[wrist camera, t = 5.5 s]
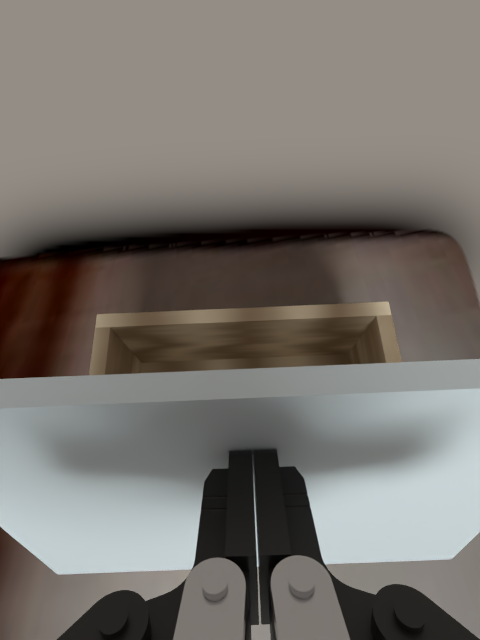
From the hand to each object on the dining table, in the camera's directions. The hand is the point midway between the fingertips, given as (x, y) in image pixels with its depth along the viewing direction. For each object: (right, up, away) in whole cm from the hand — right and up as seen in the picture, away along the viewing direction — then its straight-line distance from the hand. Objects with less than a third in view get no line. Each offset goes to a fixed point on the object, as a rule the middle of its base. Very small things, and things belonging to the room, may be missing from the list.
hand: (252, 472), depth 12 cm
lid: (0, -2, +3) cm, 4 cm away
